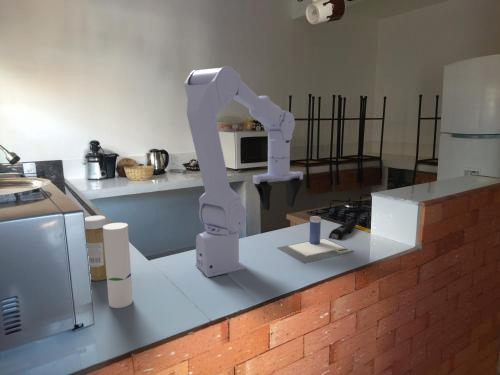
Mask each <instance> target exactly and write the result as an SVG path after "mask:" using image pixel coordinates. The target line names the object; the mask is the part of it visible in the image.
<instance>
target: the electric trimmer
mask: <svg viewBox="0 0 500 375" xmlns="http://www.w3.org/2000/svg"><path fill="white" fill-rule="evenodd" d="M356 226H357V224H356V221H355V219H354V218H353V219H350V220H349V221H347V222H345V223H344V224H341V225H340V226H338V227H336V228H334V229H332V231H330V233H329V235H328V240H336V241H341V240H342V239H343V238H344V236H346V234H350V233H352V232H353V230H354V229H355V228H356Z"/></svg>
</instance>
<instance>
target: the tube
mask: <svg viewBox="0 0 500 375" xmlns="http://www.w3.org/2000/svg"><path fill="white" fill-rule="evenodd" d="M103 237H104V249H105V262H106V274H107V278H106V282H107V283H106V284H107V285H106V286H107V297H108V305H109V307H111V308H112V309H121V308H122V309H123V308H125V307H128V306H130V305H131V304H132V303H133V301H134V299H133V297H134V296H133V284H132V283H133V282H132V281H133V280H132V271H131V269H132V268H131V254H130V253H131V252H130V239H129V224H128V223H126V222H112V223H106V225H104V226H103Z"/></svg>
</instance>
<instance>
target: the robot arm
mask: <svg viewBox="0 0 500 375" xmlns="http://www.w3.org/2000/svg"><path fill="white" fill-rule="evenodd" d="M241 78H242V76H241V74H240V73H239V72H237V71H235V69H234V68H233V67H231V66H226V65H225V66H222V67H214V68H213V67H212V68H204V69H194V70H192V71H191V72H190V73H189V74H188V76H187V78H186V80H185V81H184V84H183V85H184V90H185V94H186V99H187V101H186V102H187V103H186V117H187V120H188V125H189V130H190V133H191V138H192V142H193V146H194V150H195V155H196V160H197V163H198V166H199V171H200V175H201V179H202V183H203V187H204V193H202V195H200V196H199V198H198V204H199V212H198V216H199V220H200V222H201V223H202V224H203V225H204V231H203V232H201V233H198V234H196V237H195V257H196V259H195V260H196V262H195V263H194V264H195V266H196V267H197V268H198V269H199V271H201V272H202V273H203V274H204V275H205V276H206V277H207V278H211V277H215V276H220V275H225V274H228V273H233V272H235V271H236V272H237V271H240V270H245V269H247V266H245V264H243V263H241V262H240V247H239V246H240V242H239V241H240V239H239V238H240V236H239V234H240V232H241V231H242V228H244V226H245V225H246V224H245V223H246V220H247V210H246V207H245V206H244V205H243V203H242V200H241V197H240V196H239V194H238V193H237V192H235V190H234V189H232V188H231V185H230V181H229V175H228V171H227V167H226V162H225V161H226V160H225V156H224V152H223V148H222V143H221V138H220V134H219V129H218V123H217V120H216V119H217V117H218V115H219V113H220V112H221V111H223V109H225V107H226V106H228V104H229V103H230V102H231V101H232V100H234V101H236V102H237V103H239V104H241V105H242V106H244V107H246V108H247V109H248V112H249V115H250V116H251V117H252V118H254V119H255V120H256V121H257V122H259V123H260V124H261V125H262V126H263V129H264V131H265V132H266V133H267V172H266V173H261V174H256V175H255V174H254V175H252V183H253V184H254V188H256V191H257V194H259V195H258V196H259V197H260V201H261V205H262V209H263V210H265V211H270V207H271V205H270V202H271V200H270V199H271V192H272V188H273V186H272V185H270V184H269V183H274V182H282V181H283V182H284V184H285V192H286V206H289V207H290V208H293V207H294V204H295V202H296V197H297V195H298V193H299V191H300V189H301V186H302V185H303V179H304V172H303V171H290V170H291V169H290V168H291V167H290V166H291V163H290V162H291V161H290V160H291V158H290V157H291V140H292V139H293V133H294V130H295V126H296V121H295V117H294V115H293V113H291V112H290V111H289V110H283V109H282V108H281V107H280V106H279V105H278V104H276V103H275V102H273V101H272V100H271V97H270V96H268V95H257V94H256V93H255V92H254V91H253V90H252V89H251V88H250V87H249V86H247V84H246V83H245V82H243V81H242V79H241Z"/></svg>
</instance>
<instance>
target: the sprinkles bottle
mask: <svg viewBox="0 0 500 375" xmlns="http://www.w3.org/2000/svg"><path fill="white" fill-rule="evenodd" d="M104 225H107V218H106V216H104V215H99V214H98V215H90V216H87V217H85V227H86V240H87V248H88V256H89V266H90V274H91V280H90V281H93V282H98V281H104V280H107V274H106V262H105V249H104V237H103V226H104Z"/></svg>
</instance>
